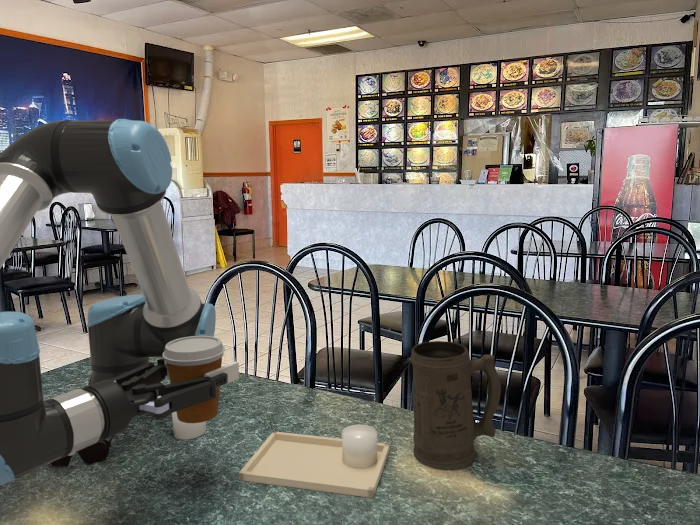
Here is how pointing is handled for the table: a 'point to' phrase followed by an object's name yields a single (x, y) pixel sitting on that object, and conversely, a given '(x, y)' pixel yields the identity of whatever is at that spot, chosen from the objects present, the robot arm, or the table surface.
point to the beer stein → (449, 404)
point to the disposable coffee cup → (194, 370)
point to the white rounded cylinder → (359, 446)
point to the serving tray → (312, 465)
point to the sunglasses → (89, 453)
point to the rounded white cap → (187, 428)
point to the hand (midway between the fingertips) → (217, 364)
